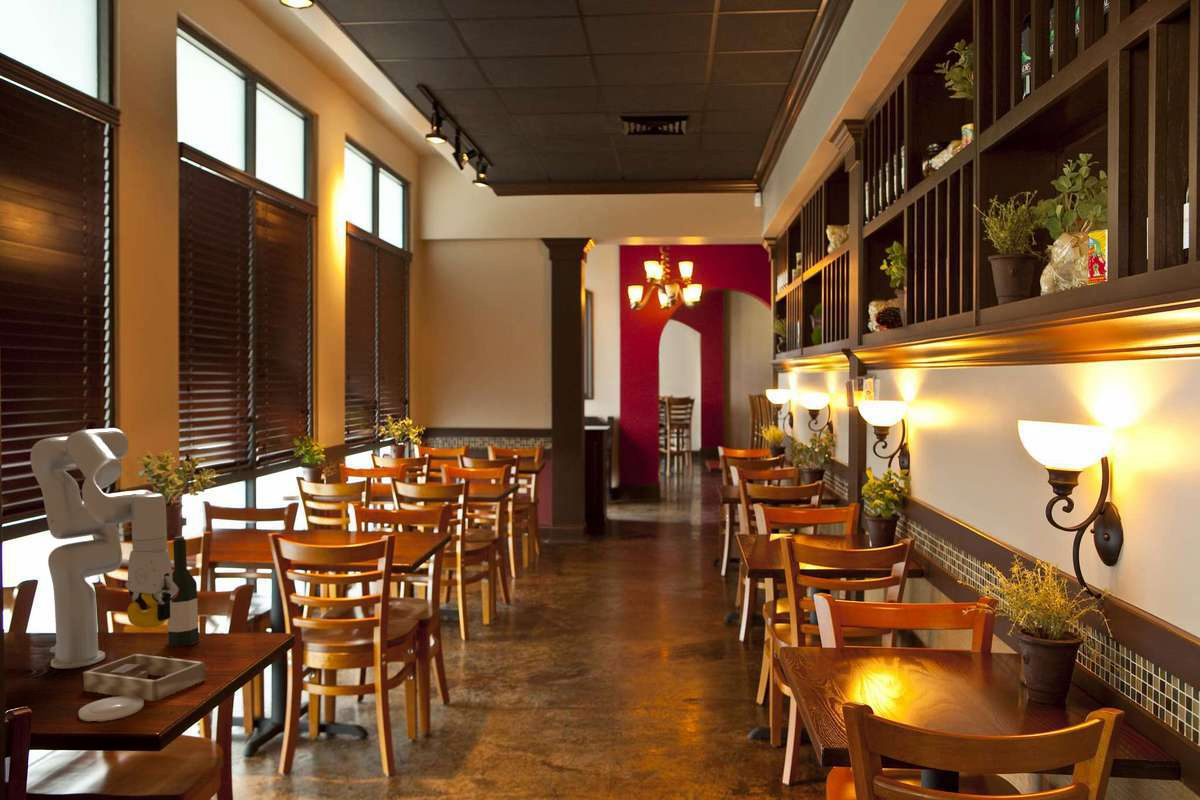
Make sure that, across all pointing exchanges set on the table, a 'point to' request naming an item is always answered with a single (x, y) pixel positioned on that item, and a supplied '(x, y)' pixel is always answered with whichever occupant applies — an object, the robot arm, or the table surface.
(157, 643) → the table surface
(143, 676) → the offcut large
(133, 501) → the robot arm
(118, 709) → the plate
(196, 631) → the wine bottle
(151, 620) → the duckling
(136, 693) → the tray
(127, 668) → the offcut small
